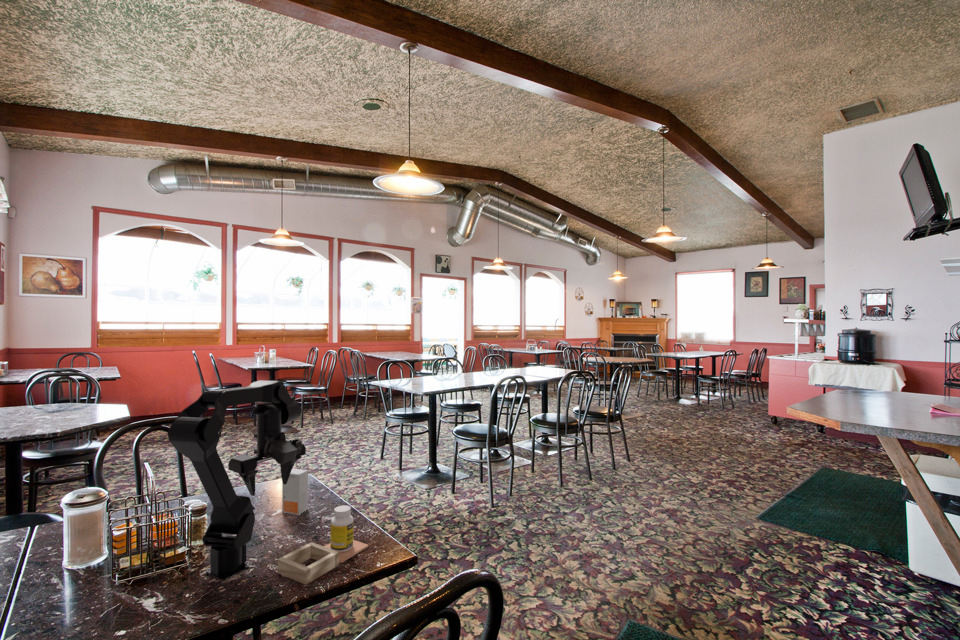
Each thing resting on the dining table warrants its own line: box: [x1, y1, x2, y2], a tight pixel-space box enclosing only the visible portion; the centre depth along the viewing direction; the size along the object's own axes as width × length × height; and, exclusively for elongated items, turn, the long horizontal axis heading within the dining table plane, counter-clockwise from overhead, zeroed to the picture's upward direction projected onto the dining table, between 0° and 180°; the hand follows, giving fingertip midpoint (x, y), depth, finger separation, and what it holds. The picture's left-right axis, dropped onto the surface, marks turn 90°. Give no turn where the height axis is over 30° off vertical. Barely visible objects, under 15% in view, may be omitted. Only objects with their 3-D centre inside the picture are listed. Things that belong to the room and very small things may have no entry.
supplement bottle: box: [329, 505, 354, 553], centre depth 116 cm, size 5×5×10 cm
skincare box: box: [281, 468, 309, 516], centre depth 139 cm, size 6×4×12 cm
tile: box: [324, 539, 369, 564], centre depth 116 cm, size 9×9×1 cm
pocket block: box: [277, 541, 340, 585], centre depth 107 cm, size 9×9×3 cm
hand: (269, 489), depth 121 cm, fingers open, 9 cm apart
